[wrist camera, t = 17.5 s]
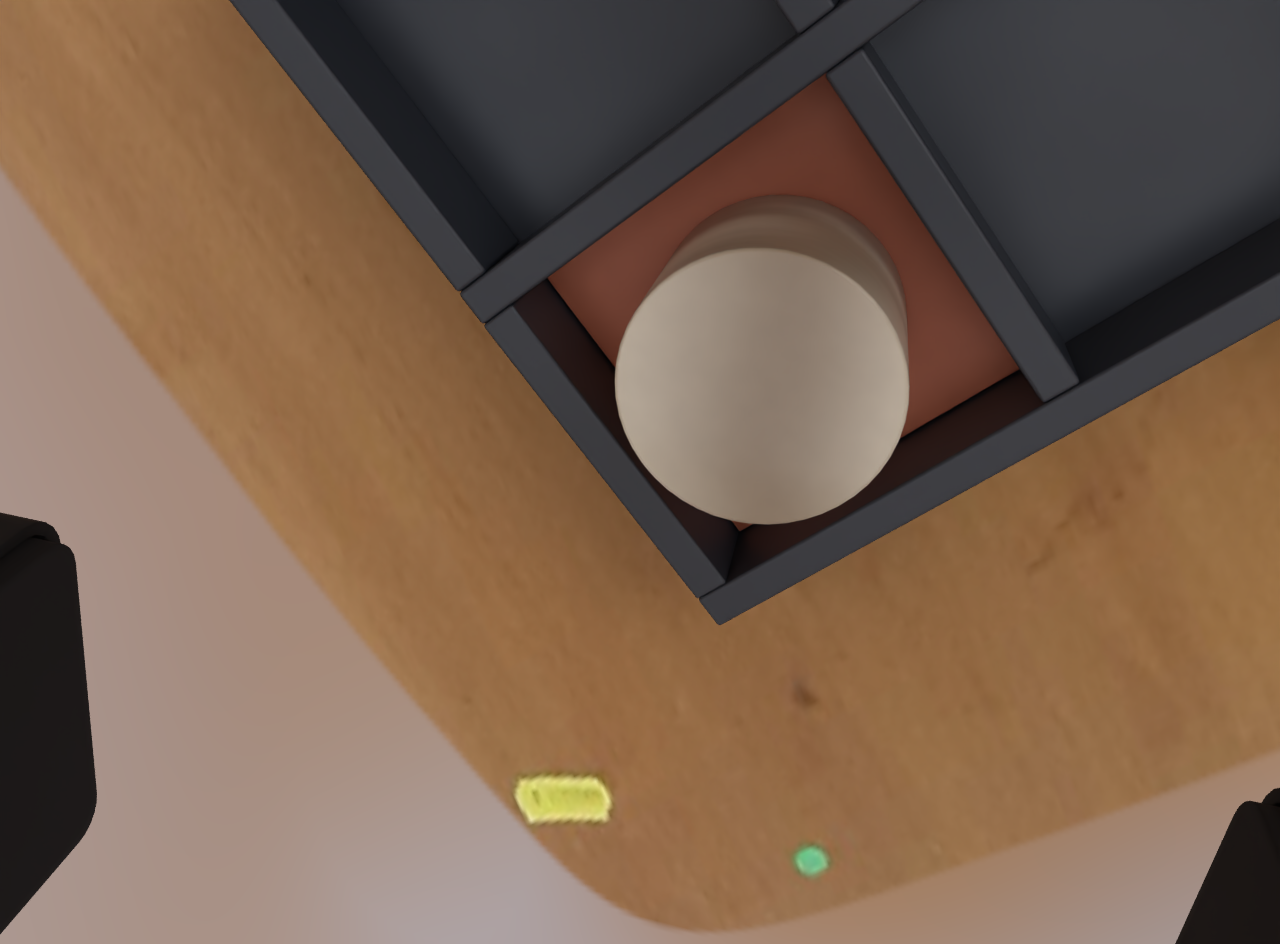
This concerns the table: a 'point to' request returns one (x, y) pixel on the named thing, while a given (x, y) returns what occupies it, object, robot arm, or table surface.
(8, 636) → the robot arm
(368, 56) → the grid
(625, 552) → the table surface
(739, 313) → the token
